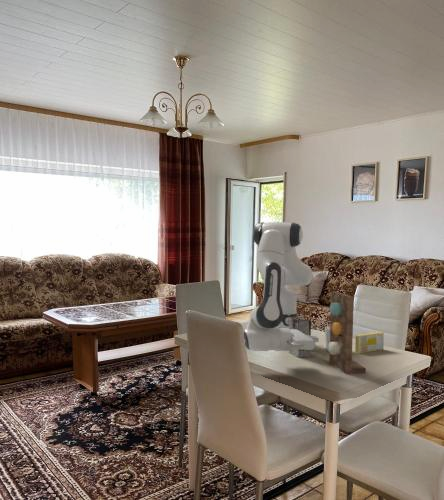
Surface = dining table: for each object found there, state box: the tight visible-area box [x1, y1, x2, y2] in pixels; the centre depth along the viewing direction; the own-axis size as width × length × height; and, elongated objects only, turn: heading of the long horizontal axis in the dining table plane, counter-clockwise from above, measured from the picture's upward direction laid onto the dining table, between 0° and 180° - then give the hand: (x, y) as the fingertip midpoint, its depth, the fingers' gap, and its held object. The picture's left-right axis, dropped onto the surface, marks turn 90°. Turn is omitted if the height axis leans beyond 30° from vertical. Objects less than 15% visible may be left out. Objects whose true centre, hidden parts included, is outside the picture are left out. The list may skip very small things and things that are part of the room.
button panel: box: [328, 290, 367, 375], centre depth 175 cm, size 16×8×30 cm, turn 10°
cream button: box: [328, 342, 341, 355], centre depth 175 cm, size 5×4×5 cm
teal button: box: [329, 302, 343, 315], centre depth 174 cm, size 5×4×5 cm
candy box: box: [354, 331, 385, 354], centre depth 201 cm, size 16×2×8 cm, turn 116°
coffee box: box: [288, 316, 312, 358], centre depth 193 cm, size 9×6×16 cm
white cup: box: [324, 325, 341, 351], centre depth 202 cm, size 8×8×10 cm
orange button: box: [332, 322, 342, 335], centre depth 174 cm, size 5×4×5 cm
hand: (317, 338), depth 173 cm, fingers closed
